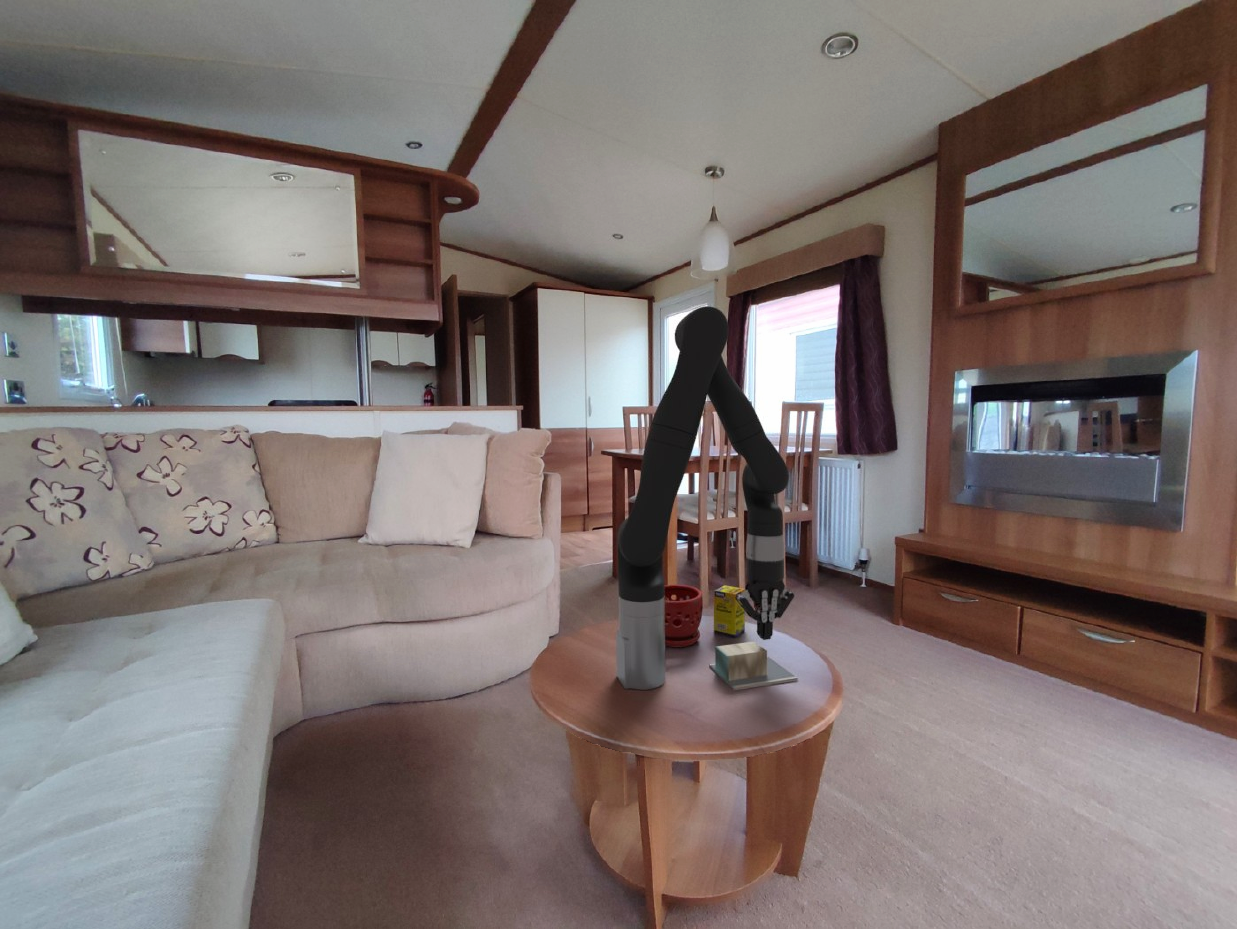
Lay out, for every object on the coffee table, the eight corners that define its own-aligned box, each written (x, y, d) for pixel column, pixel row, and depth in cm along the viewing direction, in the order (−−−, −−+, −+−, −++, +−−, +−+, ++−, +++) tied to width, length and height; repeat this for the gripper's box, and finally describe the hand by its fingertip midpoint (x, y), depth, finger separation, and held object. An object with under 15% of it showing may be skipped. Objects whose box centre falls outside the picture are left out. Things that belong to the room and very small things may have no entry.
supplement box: (735, 638, 125) (735, 594, 124) (713, 633, 128) (713, 590, 128) (745, 631, 130) (745, 588, 129) (723, 626, 133) (723, 584, 133)
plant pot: (646, 631, 131) (646, 584, 130) (698, 630, 130) (698, 583, 130) (649, 652, 117) (649, 600, 117) (707, 651, 117) (706, 599, 117)
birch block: (767, 675, 104) (726, 681, 102) (753, 664, 109) (715, 670, 106) (767, 650, 104) (726, 656, 101) (753, 641, 109) (715, 646, 106)
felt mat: (734, 690, 99) (734, 687, 99) (709, 666, 109) (709, 664, 109) (797, 680, 103) (797, 677, 103) (767, 658, 113) (767, 655, 113)
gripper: (745, 562, 100) (745, 649, 101) (804, 557, 104) (803, 641, 105) (727, 554, 108) (727, 635, 108) (782, 549, 111) (782, 628, 112)
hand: (764, 638), depth 107 cm, fingers closed
